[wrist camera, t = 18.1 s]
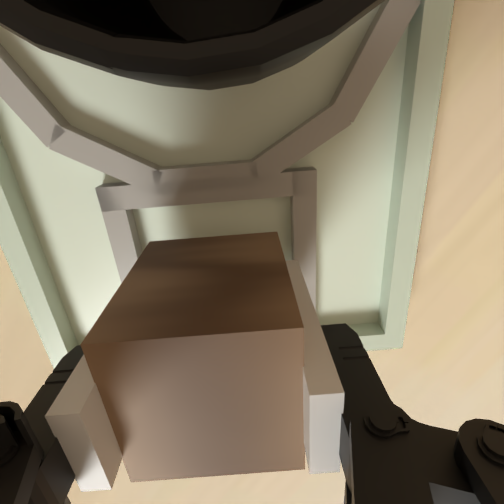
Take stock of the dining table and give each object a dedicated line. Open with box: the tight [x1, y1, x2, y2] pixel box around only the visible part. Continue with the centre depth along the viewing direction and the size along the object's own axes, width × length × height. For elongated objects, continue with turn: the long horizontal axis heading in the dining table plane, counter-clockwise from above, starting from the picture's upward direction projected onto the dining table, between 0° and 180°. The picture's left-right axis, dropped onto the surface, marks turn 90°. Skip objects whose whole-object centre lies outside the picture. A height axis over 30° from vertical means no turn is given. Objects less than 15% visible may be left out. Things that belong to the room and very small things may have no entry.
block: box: [81, 232, 305, 482], centre depth 11 cm, size 5×5×6 cm
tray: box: [0, 0, 455, 369], centre depth 12 cm, size 18×26×2 cm
